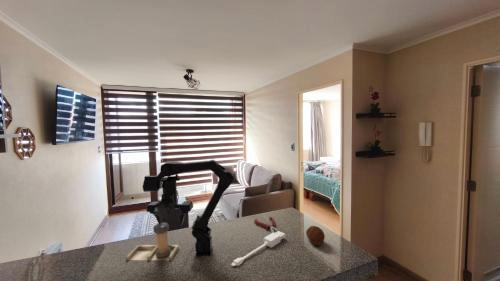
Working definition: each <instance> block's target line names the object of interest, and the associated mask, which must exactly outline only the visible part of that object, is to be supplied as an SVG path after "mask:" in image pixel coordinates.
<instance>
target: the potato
mask: <svg viewBox="0 0 500 281" xmlns="http://www.w3.org/2000/svg"><path fill="white" fill-rule="evenodd" d="M305 234H306V237H307V239H308V240H309V241H310V242H311V244H313V245H314V246H316V247H320V246H322V245H323V244H324V242H325V232H324V231H323V229H322V228H321V227H319V226H316V225H310V226H309V227H308V228H307V229H306V232H305Z"/></svg>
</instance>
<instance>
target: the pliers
mask: <svg viewBox="0 0 500 281" xmlns="http://www.w3.org/2000/svg"><path fill="white" fill-rule="evenodd" d="M268 219H269V221H270V222H271V225H270V224H266V223H264V222H261V221H259V220H258V219H257V218H255V219H254V224H255V225H256V226H257V227H260V228H262V229H265V230H266V231H267V232H268V231H270V232H271V233H276V232H277V231H279V230H278V229H277V225H276V224H275V223H276V222H275V219H274V218H273V217H272V216H269V218H268Z"/></svg>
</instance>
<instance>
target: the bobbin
mask: <svg viewBox="0 0 500 281" xmlns="http://www.w3.org/2000/svg"><path fill="white" fill-rule="evenodd" d="M152 228H153V233H154V234H155V236H156V237H155V238H156V245H157V249H158V250H157V251H156V257H157V258H159V259H163V258H166V257H168V256H169V255H170V254H171V248H170V247H168V244H169V238H168V231H169V229H170V225H169V223H168V222H162V223H157V224H155V225H154V226H153V227H152Z"/></svg>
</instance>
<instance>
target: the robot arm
mask: <svg viewBox="0 0 500 281" xmlns="http://www.w3.org/2000/svg"><path fill="white" fill-rule="evenodd" d="M159 170H160V171H159V173H158V174H157V175H145V176H144V180H143V183H142V191H143V193H149V192H159V191H160V190H161V189H162V194H161V196H160V197H161V199H160V201H152V202H150V203H149V204H147V205H146V208H145V209H146V212H147V213H149V214H151V215H153V216H154V217H155V219H156V221H157V224H159V223H163V216H162V215H163V214H166V215H168V214H170V212H171V211H174V210H176V209H178V210H180V212H179V214H180V218H179V220H180V221H179V224H180V227H181V226H182V227H183V223H184V220H185V217H186V214H188V213H189V212H191V211H192V209H193V208H194V202H193V201H192V200H191V201H190V200H189V201H182V203H179V200H178V192H179V191H178V190H177V182H178V181H179V182H180V180H181V179H182V177H181V176H180V175H179V174H181V173H187V172H189V173H190V172H198V171H199V172H200V171H211V172H212V173H213V174H214V175H215V176H216V177H218V178H219V179H218V181H217V185H216V187H215V190H214V191H213V193H212V195H211V197H210V199H209V200H208V203H207V205H206V207H205V209H204V211H203V212H202V214H201V215H198V214H197V215H196V219H195V220H194V221H193V223H192V225H191V234H192V237H193V238H195V240H196V241H195V245H194V248H195V252H196V253H195V256H211V254H212V252H213V249H214V247H213V238H212V237H213V236H211V232H212V229H211V228H210V227H209V222H210V219H211V217H212V215H213V214H214V211H215V210H216V208H217V206H218V204H219V202H220V201H221V199H222V196H223V194H224V192H226V190H228V188H229V187H230V186H231V184H232V183H233V182H234V174H233V171H232V170H231V169H227V168H225V167H224V166H222V165H221V164H219V162H217V161H216V160H215V159H210V160H200V161H199V160H198V161H189V162H182V161H181V162H180V161H173V160H168V161H166V162H165V163H163V164H162V165H161V166H160V169H159ZM165 177H166V178H165Z"/></svg>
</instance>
